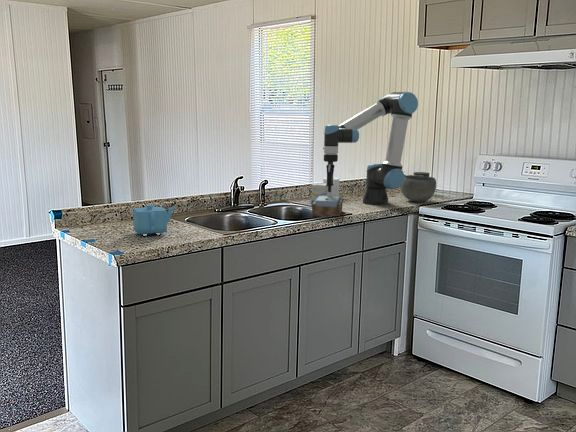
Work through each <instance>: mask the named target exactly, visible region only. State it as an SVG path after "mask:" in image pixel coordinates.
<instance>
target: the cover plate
mask: <svg viewBox="0 0 576 432" xmlns="http://www.w3.org/2000/svg"><path fill="white" fill-rule="evenodd" d="M340 198H341V197H340V196H339V197H335V196H319V197H318V198H317V199H316V204H315V206H322V207H337V205H338V203H339V201H340V200H341V199H340Z"/></svg>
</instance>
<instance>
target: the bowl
mask: <svg viewBox="0 0 576 432" xmlns="http://www.w3.org/2000/svg"><path fill="white" fill-rule="evenodd" d="M400 187H401V190H400V191H401V193H402V195H403V196H404V198H406V199H407V200H409V201H412V202H416V203H417V202H418V203H420V202H422V203H423V202H427V201H429V200H430V199H432V197H433V196H434V194H435V192H436V190H437V179H436V178H435V177H433V176H429V177H425V176H417V175H414V174H409V175H408V174H407V175H405V179H404V182H403V184H402V185H401V186H400Z"/></svg>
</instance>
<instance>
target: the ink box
mask: <svg viewBox="0 0 576 432" xmlns="http://www.w3.org/2000/svg"><path fill="white" fill-rule="evenodd" d="M326 185H327V184H324V183H323V182H317V183H315V182H314V183H312V184H311V200H310V205H311V206H312V204H313V203H314V202H315V200H316V199H317V198H318V197H319V196H327V186H326Z"/></svg>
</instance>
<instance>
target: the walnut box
mask: <svg viewBox="0 0 576 432" xmlns="http://www.w3.org/2000/svg"><path fill="white" fill-rule="evenodd" d="M315 204H316V200H315V202H314V203H313V204H312V205H311V210H312V211H311V217H325V218H326V217H327V218H328V216H339V215H340V216H341V214H342V212H343V199H340V201H339V203H338V205H337V207H322V206H315ZM340 213H341V214H340Z"/></svg>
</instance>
